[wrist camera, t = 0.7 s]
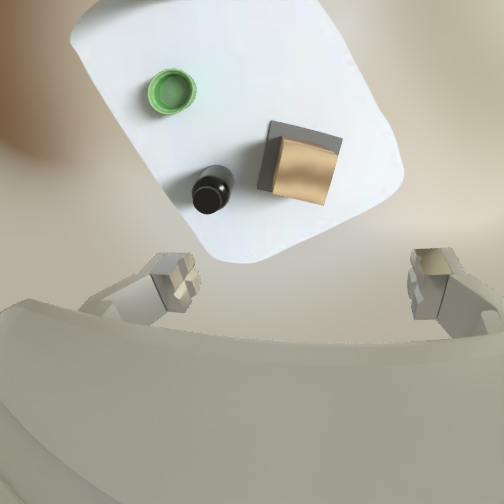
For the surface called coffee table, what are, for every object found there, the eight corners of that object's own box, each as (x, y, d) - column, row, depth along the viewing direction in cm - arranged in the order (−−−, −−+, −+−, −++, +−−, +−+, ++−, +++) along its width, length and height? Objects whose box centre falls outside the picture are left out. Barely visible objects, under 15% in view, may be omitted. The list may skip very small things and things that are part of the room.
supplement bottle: (204, 198, 57) (189, 221, 47) (198, 166, 54) (182, 183, 44) (237, 194, 57) (229, 218, 46) (232, 162, 53) (223, 178, 43)
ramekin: (151, 79, 45) (142, 78, 41) (194, 64, 43) (187, 62, 40) (161, 118, 49) (153, 120, 45) (204, 106, 48) (198, 106, 44)
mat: (271, 120, 49) (271, 120, 48) (342, 138, 49) (342, 138, 49) (257, 188, 56) (257, 188, 55) (323, 202, 56) (324, 203, 56)
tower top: (283, 138, 46) (284, 142, 42) (332, 151, 46) (338, 156, 42) (272, 186, 50) (272, 194, 46) (319, 196, 51) (323, 205, 47)
